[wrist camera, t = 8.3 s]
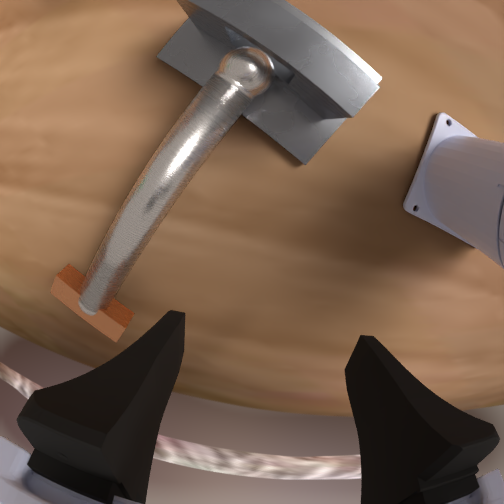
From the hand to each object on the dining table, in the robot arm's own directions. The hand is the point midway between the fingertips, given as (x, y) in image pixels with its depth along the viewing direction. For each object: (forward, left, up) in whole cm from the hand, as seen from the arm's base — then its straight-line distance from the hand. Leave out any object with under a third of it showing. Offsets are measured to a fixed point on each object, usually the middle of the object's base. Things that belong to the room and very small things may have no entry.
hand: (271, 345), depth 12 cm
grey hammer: (+7, -3, -10) cm, 13 cm away
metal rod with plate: (+8, -2, -8) cm, 11 cm away
